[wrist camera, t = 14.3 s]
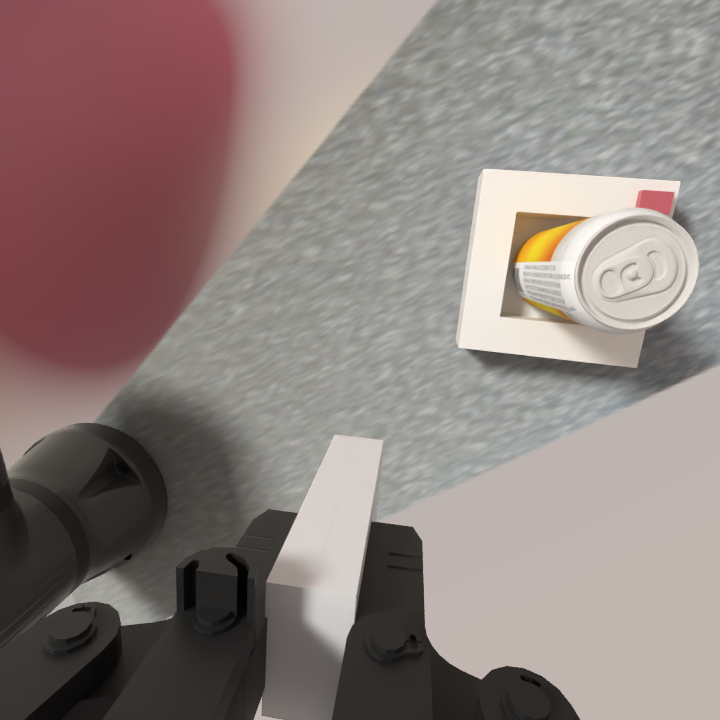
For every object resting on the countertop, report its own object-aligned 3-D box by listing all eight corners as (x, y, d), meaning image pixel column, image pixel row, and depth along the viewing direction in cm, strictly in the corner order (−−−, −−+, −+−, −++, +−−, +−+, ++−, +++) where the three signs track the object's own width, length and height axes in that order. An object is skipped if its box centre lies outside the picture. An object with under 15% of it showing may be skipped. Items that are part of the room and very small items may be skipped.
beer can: (601, 291, 35) (725, 309, 20) (524, 319, 36) (589, 356, 22) (576, 216, 34) (688, 181, 19) (499, 248, 35) (549, 237, 21)
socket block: (455, 340, 38) (458, 349, 34) (478, 178, 35) (485, 166, 31) (617, 358, 36) (640, 369, 32) (654, 189, 33) (685, 179, 29)
